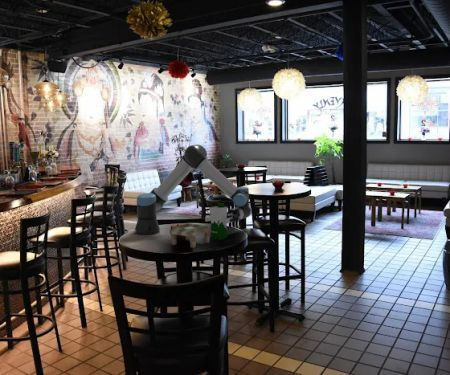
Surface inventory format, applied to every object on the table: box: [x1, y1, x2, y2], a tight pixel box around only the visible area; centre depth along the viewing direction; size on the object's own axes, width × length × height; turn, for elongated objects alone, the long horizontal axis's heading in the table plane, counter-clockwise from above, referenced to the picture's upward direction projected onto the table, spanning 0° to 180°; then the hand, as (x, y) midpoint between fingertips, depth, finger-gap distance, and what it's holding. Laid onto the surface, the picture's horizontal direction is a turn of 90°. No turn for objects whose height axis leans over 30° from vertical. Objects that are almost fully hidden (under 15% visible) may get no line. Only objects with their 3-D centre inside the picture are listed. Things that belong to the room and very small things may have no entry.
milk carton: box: [208, 202, 228, 241], centre depth 264 cm, size 9×9×20 cm
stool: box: [169, 222, 211, 249], centre depth 253 cm, size 16×16×10 cm
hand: (215, 220), depth 262 cm, fingers open, 13 cm apart
